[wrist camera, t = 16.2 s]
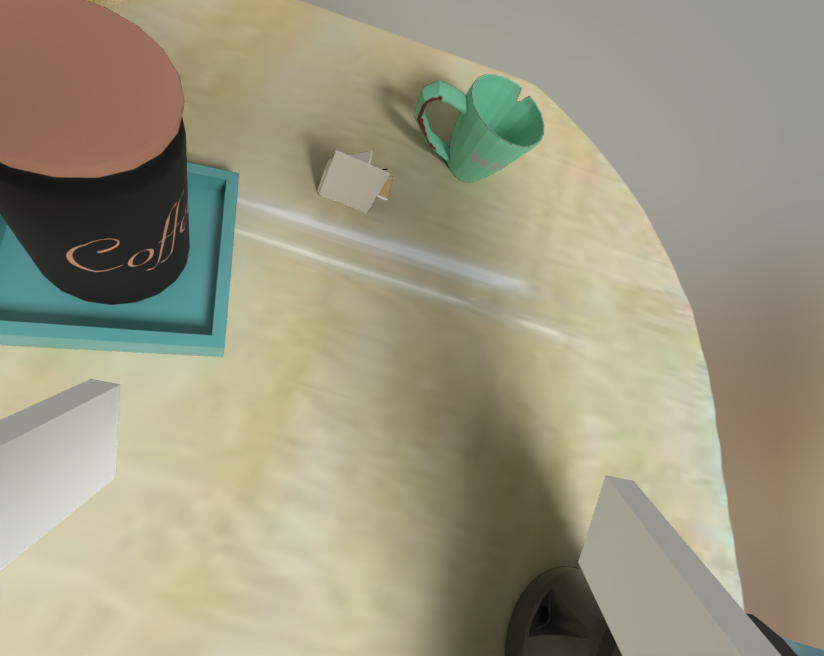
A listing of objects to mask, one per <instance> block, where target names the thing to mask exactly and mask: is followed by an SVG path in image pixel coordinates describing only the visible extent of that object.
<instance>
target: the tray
mask: <svg viewBox="0 0 824 656" xmlns="http://www.w3.org/2000/svg"><path fill="white" fill-rule="evenodd" d="M238 178H239V173H236V172H231V171H226V170H221V169H217V168H212V167H207V166H202V165H198V164H193V163H188V162H187V182H188V211H189V240H190V249H189V254H188V259H187V264H186V266H185V268H184V269H183V271H182V273H181V274H180V276H179V277H178V279H177V280H176V281H175V282H174V283H173V284H171V285H170V286H169V287H167V288H166V289H165V290H164V291H162V292H161V293H160V294H158V295H155V296H153V297H150V298H147V299H145V300H142V301H139V302H136V303H127V304H117V305H108V304H101V303H94V302H87V301H84V300H81V299H79V298H77V297H74V296H72V295H70V294H67V293H65V292H62V291H61V290H60V289H59V288H57V287H56V286H55V285H54V284H53V283H51V282H50V281H49V280H48V279H47V278H45V277H44V276H43V275H42V273H41V272H40V270H39V269H38V267H37V266H36V265H35V263H34V262H33V260H32V259H31V257H30V256H29V255H28V253H27V252H26V250H25V249H24V247H23V246H22V245H21V243H20V242H19V240H18V239H17V237H16V236H15V235H14V233H13V232H12V230H11V229H10V227H9V226H8V225H7V223H6V222H5V220H4V219H3V218H2V216H1V215H0V345H11V346H29V347H48V348H67V349H86V350H104V351H123V352H142V353H161V354H179V355H198V356H217V357H223V354H224V347H225V335H226V323H227V311H228V299H229V287H230V275H231V263H232V251H233V239H234V227H235V215H236V203H237V190H238Z"/></svg>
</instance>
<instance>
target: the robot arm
mask: <svg viewBox="0 0 824 656" xmlns="http://www.w3.org/2000/svg"><path fill="white" fill-rule="evenodd" d="M119 399H120V384H115V383H109V382H104V381H99V380H94V379H90V380H88V381H86V382H84V383H81V384H79V385H77V386H75V387H72V388H70V389H68V390H66V391H64V392H61V393H59V394H57V395H55V396H53V397H50V398H48V399H46V400H44V401H41V402H39V403H37V404H35V405H33V406H30V407H28V408H26V409H24V410H21V411H19V412H17V413H15V414H13V415H10V416H8V417H6V418H4V419H1V420H0V570H1V569H3V568H4V567H5V566H6V565H8V564H9V563H10V562H11V561H13V560H14V559H15V558H16V557H17V556H19V555H20V554H21V553H22V552H24V551H25V550H26V549H27V548H29V547H30V546H31V545H32V544H34V543H35V542H36V541H37V540H39V539H40V538H41V537H42V536H44V535H45V534H46V533H47V532H48V531H50V530H51V529H52V528H53V527H55V526H56V525H57V524H58V523H60V522H61V521H62V520H63V519H65V518H66V517H67V516H68V515H70V514H71V513H72V512H73V511H74V510H76V509H77V508H78V507H79V506H81V505H82V504H83V503H84V502H86V501H87V500H88V499H89V498H91V497H92V496H93V495H94V494H96V493H97V492H98V491H99V490H100V489H102V488H103V487H104V486H105V485H107V484H108V483H109V482H110V481H112V480H113V479H114V478H115V475H116V456H117V437H118V418H119ZM578 563H579V565H580V567H581V569H578V568H573V567H559V568H554V569H552V570H549V571H547V572H545V573H543V574H542V575H540V576H539V577H538V578H536V579H535V580H534V581H533V582H532V583H531V584H530V585H529V587H528V588H527V589H526V590H525V592H524V593H523V595H522V597H521V598H520V600H519V602H518V604H517V606H516V608H515V611H514V613H513V616H512V619H511V623H510V627H509V631H508V637H507V644H506V656H824V650H821V649H818V648H814V647H811V646H808V645H804V644H801V643H797V642H794V641H791V640H787V639H784V638H782V637H781V636H779V635H777V634H776V633H775V632H774V631H772V630H771V629H770V628H769V627H767V626H766V625H765V624H764V623H763V622H761V621H760V620H759V619H758V618H757V617H755V616H754V615H752V614H746V613H745V612H744V611H743V610H742V608H741V607H740V606H739V605H738V604H737V603H736V601H735V600H734V599H733V598H732V597H731V595H730V594H729V593H728V592H727V591H726V590H725V588H724V587H723V586H722V585H721V584H720V582H719V581H718V580H717V579H716V578H715V577H714V575H713V574H712V573H711V572H710V571H709V569H708V568H707V567H706V566H705V565H704V564H703V562H702V561H701V560H700V559H699V558H698V556H697V555H696V554H695V553H694V552H693V551H692V549H691V548H690V547H689V546H688V545H687V543H686V542H685V541H684V540H683V539H682V538H681V536H680V535H679V534H678V533H677V532H676V531H675V529H674V528H673V527H672V526H671V525H670V523H669V522H668V521H667V520H666V519H665V518H664V516H663V515H662V514H661V513H660V512H659V510H658V509H657V508H656V507H655V506H654V505H653V503H652V502H651V501H650V500H649V499H648V497H647V496H646V495H645V494H644V493H643V492H642V490H641V489H640V488H639V487H638V486H637V484H636V483H635V482H634V481H632V480H626V479H621V478H616V477H610V476H605V480H604V483H603V486H602V489H601V492H600V495H599V498H598V502H597V505H596V508H595V511H594V514H593V517H592V520H591V523H590V527H589V530H588V533H587V536H586V539H585V542H584V545H583V549H582V552H581V555H580V558H579V561H578Z"/></svg>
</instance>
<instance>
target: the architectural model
mask: <svg viewBox="0 0 824 656" xmlns="http://www.w3.org/2000/svg"><path fill="white" fill-rule="evenodd" d="M372 155H373V151H368V152H362V153H357V154H352V155H347V154H345V153H343V152H340V151H338V150H336V152H335V151H333V152H332V156H331V159H329V160H328V162H327V165H326V167H325V170H324V173H323V175H322V178H321V180H320V184H319V187H318V191H317V193H319V195H320V196H323V197H325V198H328V199H331V200H333V201H336V202H338V203H341V204H343V205H346V206H348V207H351V208H353V209H356V210H359V211H361V212H364V213H366V214H367V212H368V211H369V209H370V207H371V206H372V204H373V202H374V201H375V199H376V197H379V198H381V199H384V200H386V201H387V200H388V197H389V192H390V187H391V182H392V177H393V176H390V173H389V172H386V171H384V170H387V169H380V168H377V167H375V166H373V165H370V164H371V160H372Z"/></svg>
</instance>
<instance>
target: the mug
mask: <svg viewBox="0 0 824 656" xmlns="http://www.w3.org/2000/svg"><path fill="white" fill-rule="evenodd" d="M520 91H521V87H520V86H519V85H518V84H516V83H515V82H513V81H511V80H509V79H508V78H506V77H502V76H499V75H496V74H485V75H483V76H480V77H478V78H477V79H476V80H475V82H474V83H473V85H472V86H471V88H470V89H469V91H468V93H467V96H466V95H465V94H463V93H462V92H460V91H459V90H457V89H456V88H454V87H453V86H451V85H449V84H447V83H444V82H442V81H439V80H438V81H436V82H434V83H431V84H429V85H427V86H425V87H424V88H423V90H422V93H421V96H420V99H419V101H418V104H417V107H416V110H415V119H416V121H417V123H418V125H419V128H420V130H421V132H422V135H423V137H424V139H425V142H426V144H427V145H428V146H429V147H430V148H431V149H433V150H434V151H435V152H436V153H437V154H438V155H440V156H441V157H442V158H443V159H444V160H446V161H447V163H448V167H449V169H450V171H451V172H452V173H453V175H454V176H455V177H457V178H458V179H459V180H461V181H464V182H468V183H470V182H475V181H477V180H480V179H482V178H485V177H487V176H489V175H491V174H493V173H495V172H497V171H499V170H501V169H502V168H504V167H505V166H507V165H508V164H510V163H511V162H513V161H514V160H516V159H517V158H519V157H520V156H522V155H523V154H525V153H527V152H528V151H530V150H531V149H533V148H534V147H535V146H536V145H537V144H538V143H539V142H540V141H541V139H542V137H543V135H544V122H543V118H542V114H541V112H540V110H539V108H538V106H537V105H536V103H535V102H534V100H533V99H532V98H531V97H530V96H528V97H526V98H524V99H523V100H522V101H518V102H517V99H518V96H519V94H520ZM434 100H438V101H441V102H444V103H447V104H449V105H451V106H452V107H454V108H455V109H456V110H458V111H459V112H460V115H459V117H458V119H457V122H456V124H455V128H454V131H453V135H452V138H451V143H450V146H448V145H447V144H446V143H445V142H444V141H443V140H442V139H440V138H439V137H438V136H437V135H436V134H435V133H433V132H432V131H431V129H430V126H429V123H428V120H427V117H426V114H425V109H426V107H427V105H428V103H429V102H432V101H434Z"/></svg>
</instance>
